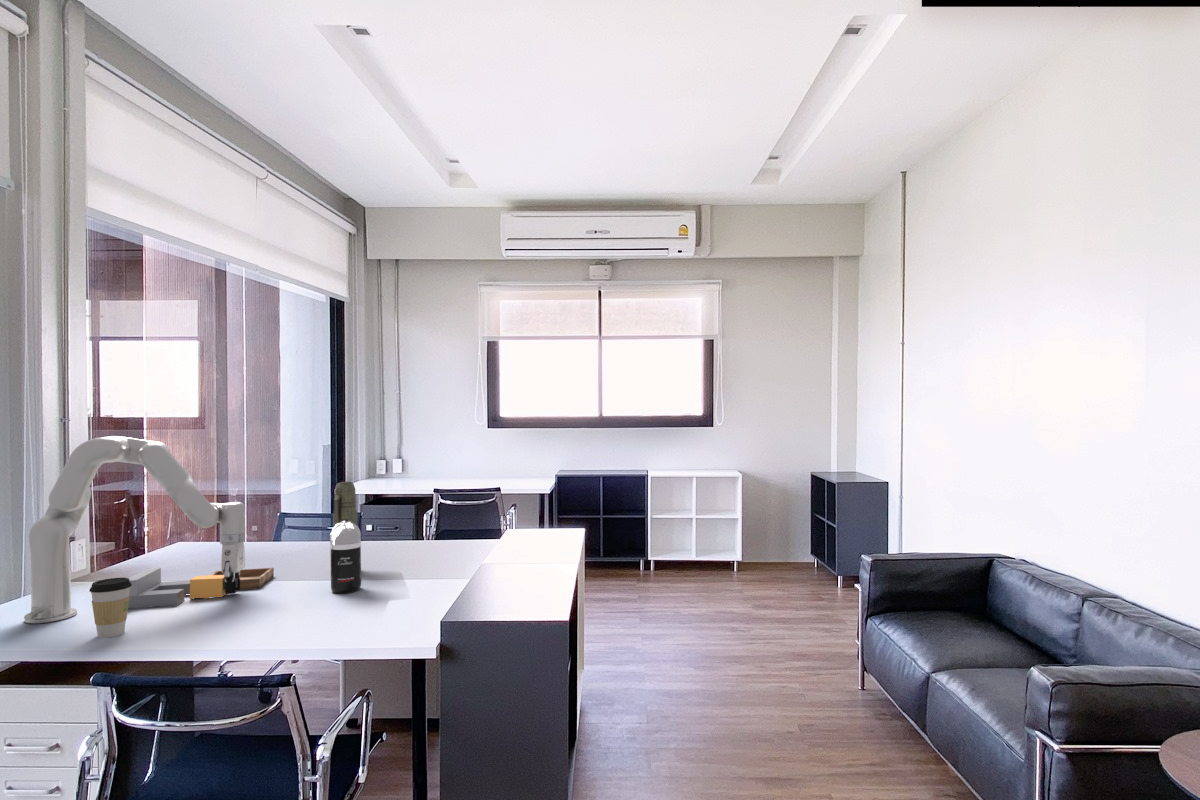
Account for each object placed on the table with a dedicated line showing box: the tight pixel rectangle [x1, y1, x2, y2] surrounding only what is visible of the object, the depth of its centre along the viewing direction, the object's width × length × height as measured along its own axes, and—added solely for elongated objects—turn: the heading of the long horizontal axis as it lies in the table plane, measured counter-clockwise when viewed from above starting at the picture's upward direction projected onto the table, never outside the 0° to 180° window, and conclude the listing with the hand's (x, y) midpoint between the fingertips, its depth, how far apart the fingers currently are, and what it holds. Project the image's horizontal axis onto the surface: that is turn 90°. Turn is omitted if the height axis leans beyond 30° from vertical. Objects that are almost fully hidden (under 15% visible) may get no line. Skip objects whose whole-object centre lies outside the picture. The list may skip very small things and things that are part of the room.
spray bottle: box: [329, 519, 362, 594], centre depth 236 cm, size 10×10×25 cm
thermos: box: [332, 481, 358, 528], centre depth 264 cm, size 9×12×35 cm
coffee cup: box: [89, 577, 132, 639], centre depth 192 cm, size 10×10×15 cm
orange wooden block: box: [189, 574, 238, 600], centre depth 231 cm, size 6×14×6 cm, turn 101°
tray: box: [210, 567, 275, 590], centre depth 247 cm, size 18×20×4 cm
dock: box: [128, 567, 190, 609], centre depth 228 cm, size 18×16×9 cm
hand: (232, 591), depth 232 cm, fingers closed on orange wooden block, 3 cm apart
